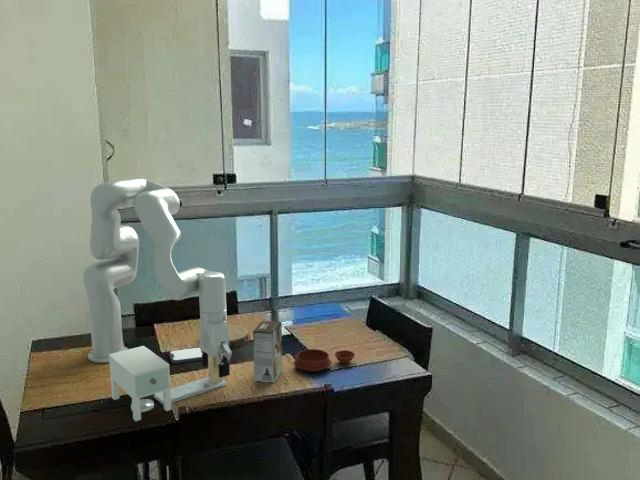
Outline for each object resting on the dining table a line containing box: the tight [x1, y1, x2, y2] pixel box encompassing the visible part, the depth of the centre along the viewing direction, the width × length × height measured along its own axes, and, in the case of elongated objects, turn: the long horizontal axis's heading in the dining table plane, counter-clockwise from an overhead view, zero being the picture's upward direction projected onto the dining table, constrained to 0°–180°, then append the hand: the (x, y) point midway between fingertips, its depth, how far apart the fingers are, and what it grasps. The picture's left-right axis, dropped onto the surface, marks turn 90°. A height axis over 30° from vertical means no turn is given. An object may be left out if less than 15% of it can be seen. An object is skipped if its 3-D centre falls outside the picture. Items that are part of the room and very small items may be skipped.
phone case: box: [168, 347, 203, 365], centre depth 193 cm, size 9×2×16 cm
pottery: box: [293, 348, 356, 373], centre depth 185 cm, size 12×20×4 cm, turn 111°
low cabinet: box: [108, 345, 173, 422], centre depth 159 cm, size 18×10×13 cm, turn 39°
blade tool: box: [153, 352, 227, 406], centre depth 168 cm, size 6×20×10 cm, turn 131°
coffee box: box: [252, 320, 283, 384], centre depth 177 cm, size 9×6×16 cm
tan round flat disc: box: [227, 324, 249, 349], centre depth 207 cm, size 16×16×3 cm
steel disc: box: [130, 398, 155, 413], centre depth 159 cm, size 6×6×1 cm
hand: (215, 370), depth 172 cm, fingers open, 9 cm apart
